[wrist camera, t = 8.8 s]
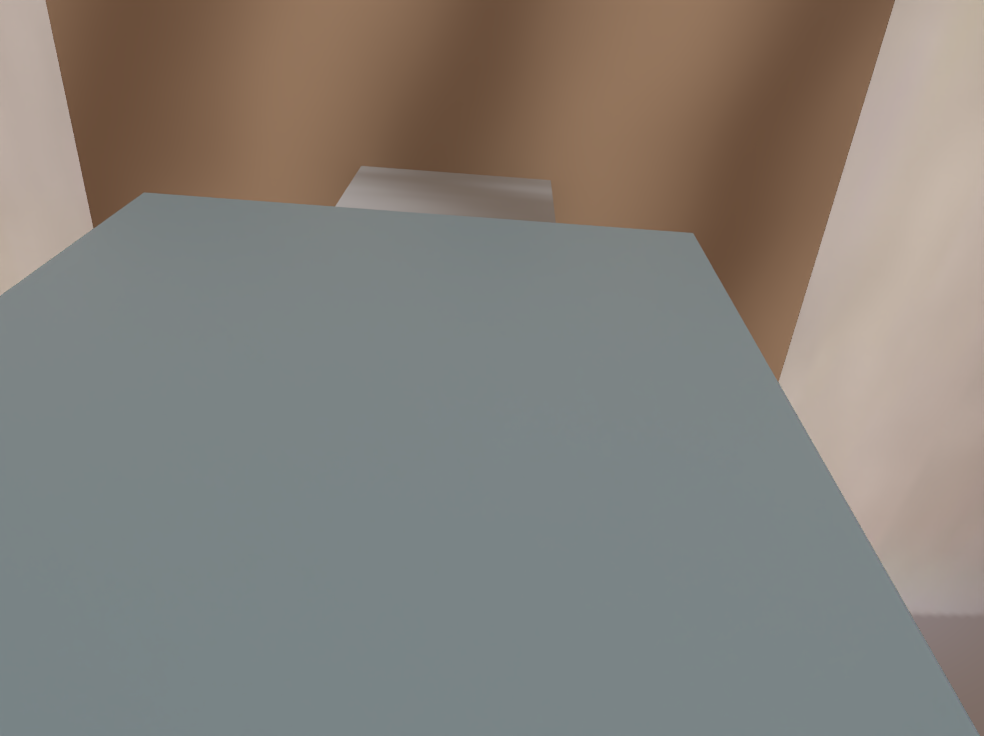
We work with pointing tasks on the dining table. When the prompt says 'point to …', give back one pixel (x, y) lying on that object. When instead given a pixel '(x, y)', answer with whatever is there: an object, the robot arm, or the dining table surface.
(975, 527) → the dining table surface
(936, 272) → the dining table surface
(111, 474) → the duct sleeve
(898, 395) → the dining table surface
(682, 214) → the base
